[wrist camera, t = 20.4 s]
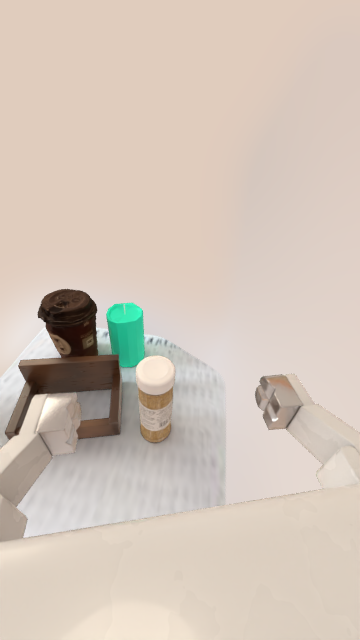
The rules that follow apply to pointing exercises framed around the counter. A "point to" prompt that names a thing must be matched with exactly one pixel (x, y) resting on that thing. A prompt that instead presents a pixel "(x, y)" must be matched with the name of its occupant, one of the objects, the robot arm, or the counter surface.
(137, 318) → the candle
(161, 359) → the sprinkles bottle
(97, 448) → the counter surface
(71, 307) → the coffee cup
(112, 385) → the spice rack
